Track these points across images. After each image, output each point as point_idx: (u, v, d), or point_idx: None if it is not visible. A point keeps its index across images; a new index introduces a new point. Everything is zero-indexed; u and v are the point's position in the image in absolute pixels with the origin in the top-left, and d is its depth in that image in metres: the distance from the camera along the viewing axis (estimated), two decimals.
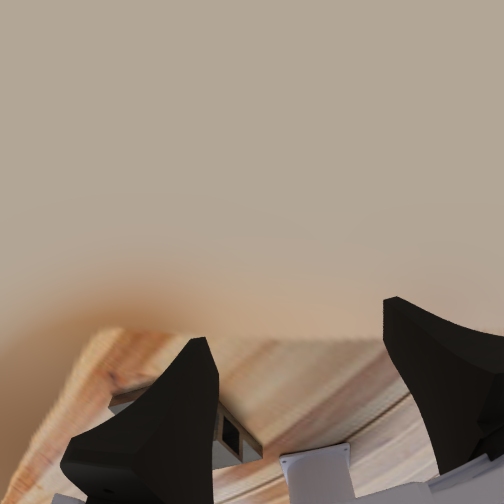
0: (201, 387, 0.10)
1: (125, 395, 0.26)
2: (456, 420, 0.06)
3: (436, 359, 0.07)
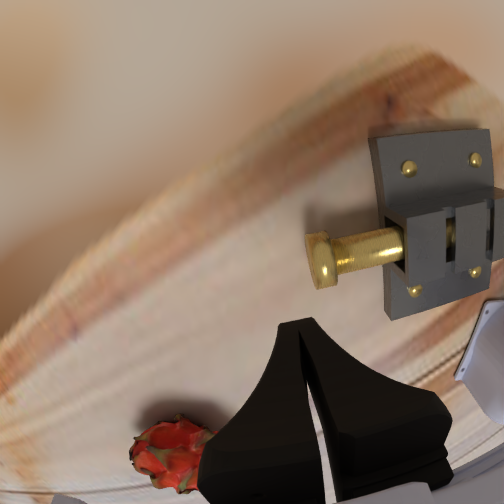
0: (303, 371, 0.10)
1: None
2: (333, 461, 0.06)
3: (321, 393, 0.08)
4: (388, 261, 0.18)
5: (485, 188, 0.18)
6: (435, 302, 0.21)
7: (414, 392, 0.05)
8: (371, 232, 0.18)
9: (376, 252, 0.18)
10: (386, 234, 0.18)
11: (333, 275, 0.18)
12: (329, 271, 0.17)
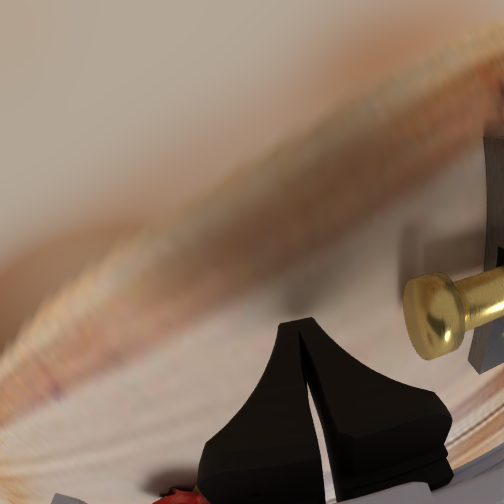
0: (303, 371, 0.10)
1: None
2: (333, 461, 0.06)
3: (321, 393, 0.08)
4: None
5: None
6: None
7: (414, 392, 0.05)
8: (495, 273, 0.10)
9: (503, 303, 0.10)
10: None
11: (457, 343, 0.10)
12: (455, 339, 0.09)
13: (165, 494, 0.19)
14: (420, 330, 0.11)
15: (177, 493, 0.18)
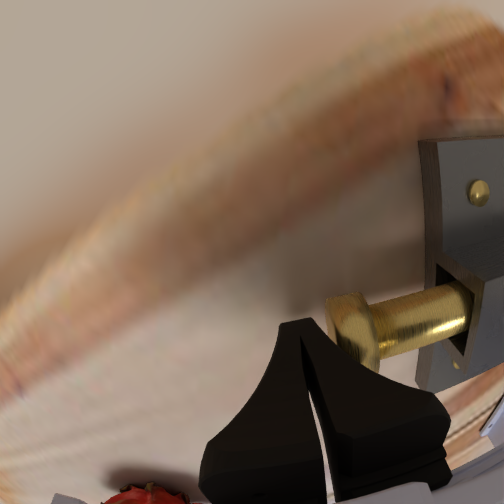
0: (304, 371, 0.10)
1: (461, 138, 0.11)
2: (332, 462, 0.06)
3: (319, 393, 0.08)
4: (450, 336, 0.10)
5: None
6: (480, 368, 0.14)
7: (413, 393, 0.05)
8: (430, 294, 0.11)
9: (438, 327, 0.10)
10: (453, 297, 0.10)
11: None
12: (367, 367, 0.10)
13: (124, 490, 0.20)
14: None
15: (132, 490, 0.18)
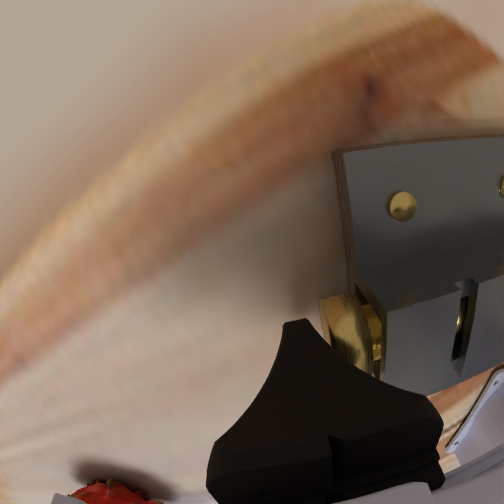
0: None
1: (385, 144, 0.11)
2: None
3: None
4: None
5: None
6: (427, 391, 0.14)
7: (405, 395, 0.05)
8: None
9: None
10: None
11: (366, 371, 0.10)
12: (361, 367, 0.10)
13: (91, 485, 0.20)
14: None
15: (95, 484, 0.19)
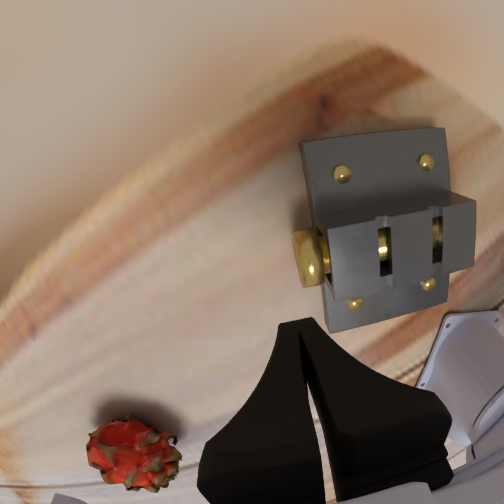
0: (303, 371, 0.10)
1: (333, 137, 0.18)
2: (333, 461, 0.06)
3: (321, 393, 0.08)
4: None
5: (439, 193, 0.18)
6: (381, 316, 0.21)
7: (414, 392, 0.05)
8: None
9: None
10: None
11: (320, 274, 0.17)
12: (316, 269, 0.17)
13: None
14: (299, 267, 0.19)
15: (114, 421, 0.26)
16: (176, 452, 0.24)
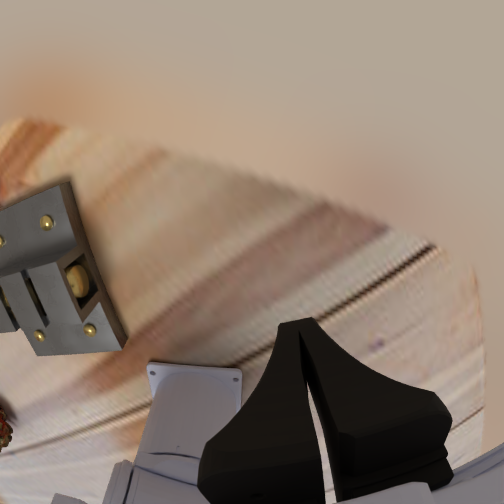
0: (303, 371, 0.10)
1: None
2: (333, 461, 0.06)
3: (321, 393, 0.08)
4: None
5: (64, 249, 0.19)
6: (63, 350, 0.22)
7: (414, 392, 0.05)
8: None
9: None
10: None
11: None
12: None
13: None
14: None
15: None
16: None
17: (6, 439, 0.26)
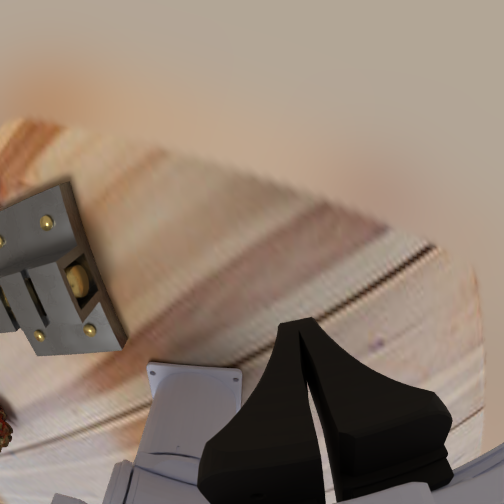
0: (303, 371, 0.10)
1: None
2: (333, 461, 0.06)
3: (321, 393, 0.08)
4: None
5: (64, 249, 0.19)
6: (63, 350, 0.22)
7: (414, 392, 0.05)
8: None
9: None
10: None
11: None
12: None
13: None
14: None
15: None
16: None
17: (6, 439, 0.26)
